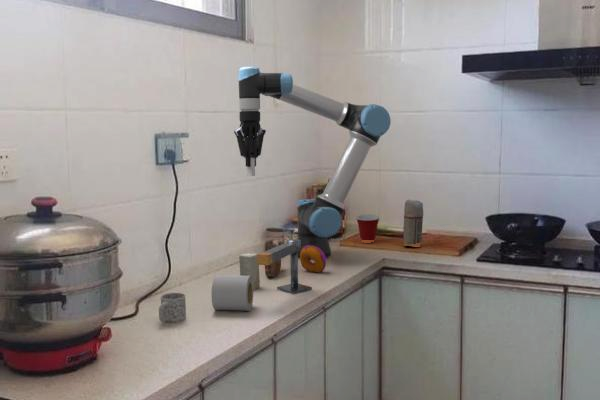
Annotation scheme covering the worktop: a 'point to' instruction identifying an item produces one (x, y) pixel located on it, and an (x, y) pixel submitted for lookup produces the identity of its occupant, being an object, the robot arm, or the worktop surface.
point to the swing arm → (279, 252)
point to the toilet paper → (232, 292)
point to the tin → (273, 268)
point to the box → (250, 267)
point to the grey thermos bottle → (413, 222)
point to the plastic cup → (367, 226)
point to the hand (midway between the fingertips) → (251, 175)
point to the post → (294, 278)
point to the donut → (314, 254)
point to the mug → (172, 308)
